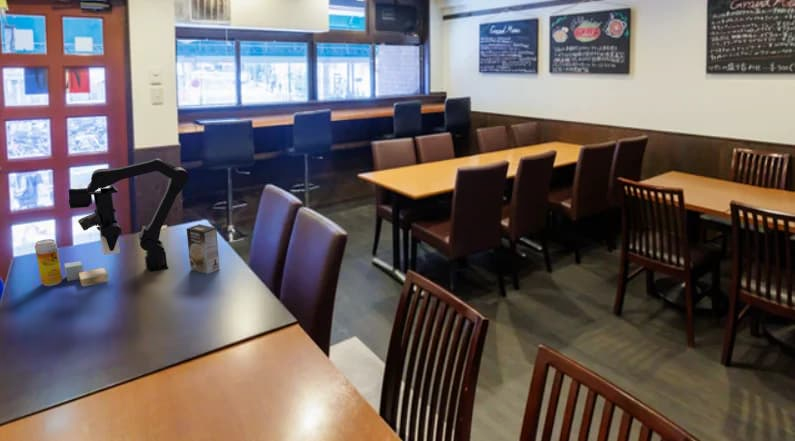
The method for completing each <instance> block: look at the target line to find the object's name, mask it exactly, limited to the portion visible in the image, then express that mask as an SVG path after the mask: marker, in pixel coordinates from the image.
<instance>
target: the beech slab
mask: <svg viewBox="0 0 795 441" xmlns="http://www.w3.org/2000/svg"><path fill="white" fill-rule="evenodd" d="M78 274H79V279H78V280H79V282H80V286H81V287H82V286H83V287H88V286H93V285H98V284H103V283H108V282H109V277H108V272H107V271H106V269H105V268H104V267H102V268H101V267H99V268H96V269H89V270H85V271H84V270H83V272H78Z"/></svg>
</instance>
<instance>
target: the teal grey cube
mask: <svg viewBox="0 0 795 441" xmlns="http://www.w3.org/2000/svg"><path fill="white" fill-rule="evenodd" d="M83 268H84V267H83V263H82V261H81V260H79V261H72V262H65V263H64V269H65V270H64V271H65V275H66V280H67V282H70V280H71V281H76V280H79V274H78V272H83V271H84V270H83ZM75 279H76V280H75Z"/></svg>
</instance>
